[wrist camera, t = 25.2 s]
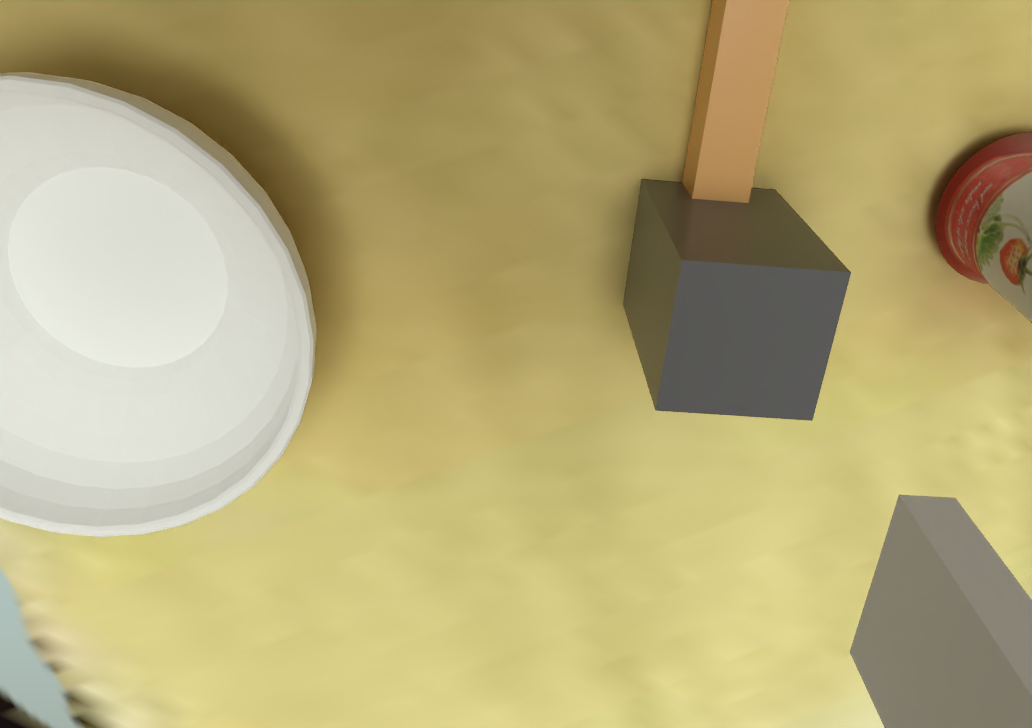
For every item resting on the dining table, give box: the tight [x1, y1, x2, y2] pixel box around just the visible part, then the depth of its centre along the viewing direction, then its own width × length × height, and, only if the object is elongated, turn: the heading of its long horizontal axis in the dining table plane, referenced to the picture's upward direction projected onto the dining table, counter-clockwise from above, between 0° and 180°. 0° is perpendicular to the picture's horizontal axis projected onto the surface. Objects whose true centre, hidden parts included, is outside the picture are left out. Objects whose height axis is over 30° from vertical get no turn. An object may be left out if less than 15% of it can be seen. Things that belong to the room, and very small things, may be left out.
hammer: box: [623, 0, 851, 420], centre depth 36 cm, size 20×6×10 cm, turn 175°
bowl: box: [0, 72, 317, 537], centre depth 40 cm, size 20×20×7 cm
